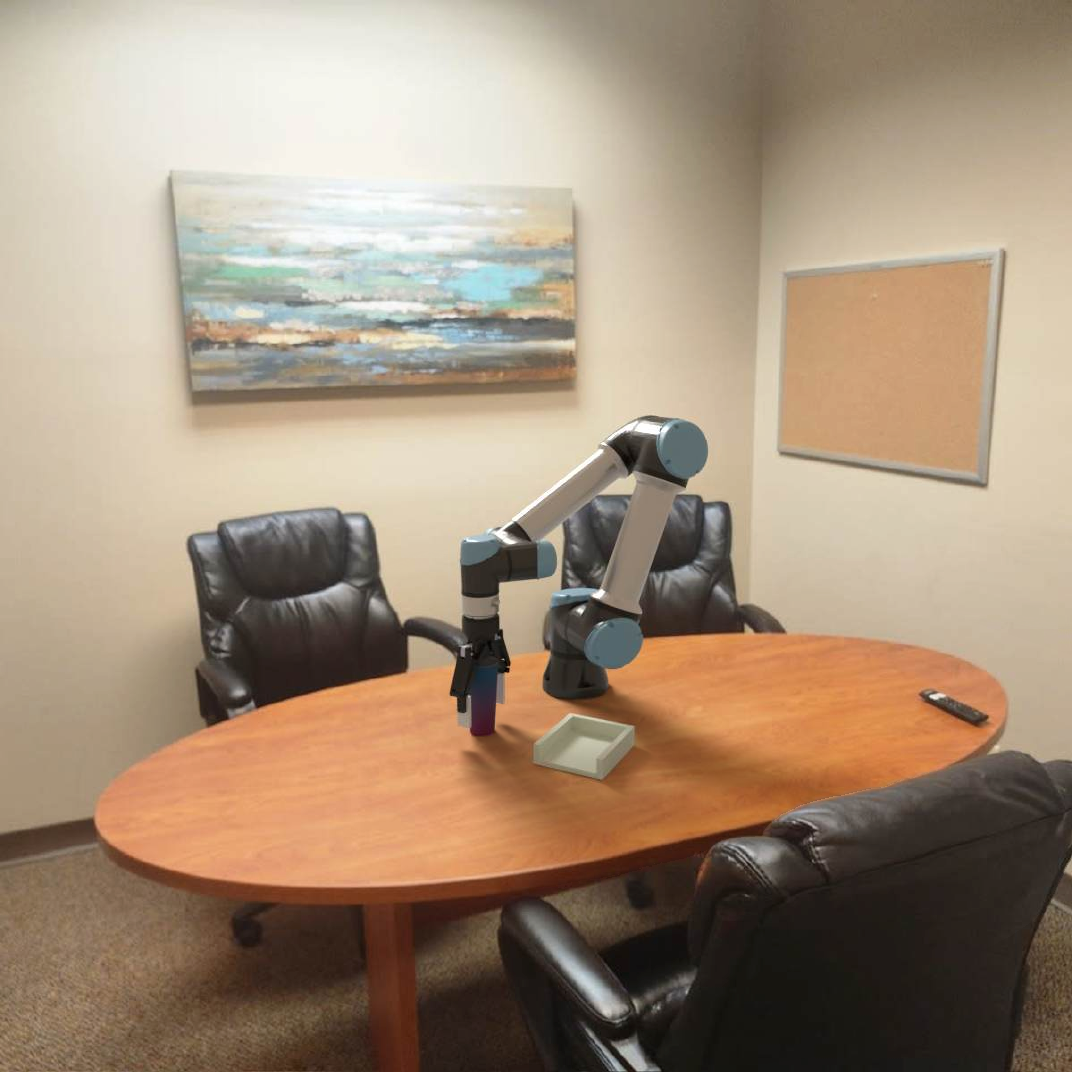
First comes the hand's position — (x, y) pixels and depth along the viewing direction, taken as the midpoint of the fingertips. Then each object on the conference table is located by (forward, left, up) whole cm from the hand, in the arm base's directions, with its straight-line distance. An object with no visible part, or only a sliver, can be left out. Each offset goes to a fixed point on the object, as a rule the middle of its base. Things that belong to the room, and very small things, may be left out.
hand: (482, 714), depth 180 cm
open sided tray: (+23, 0, -4) cm, 23 cm away
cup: (0, 0, -4) cm, 4 cm away
